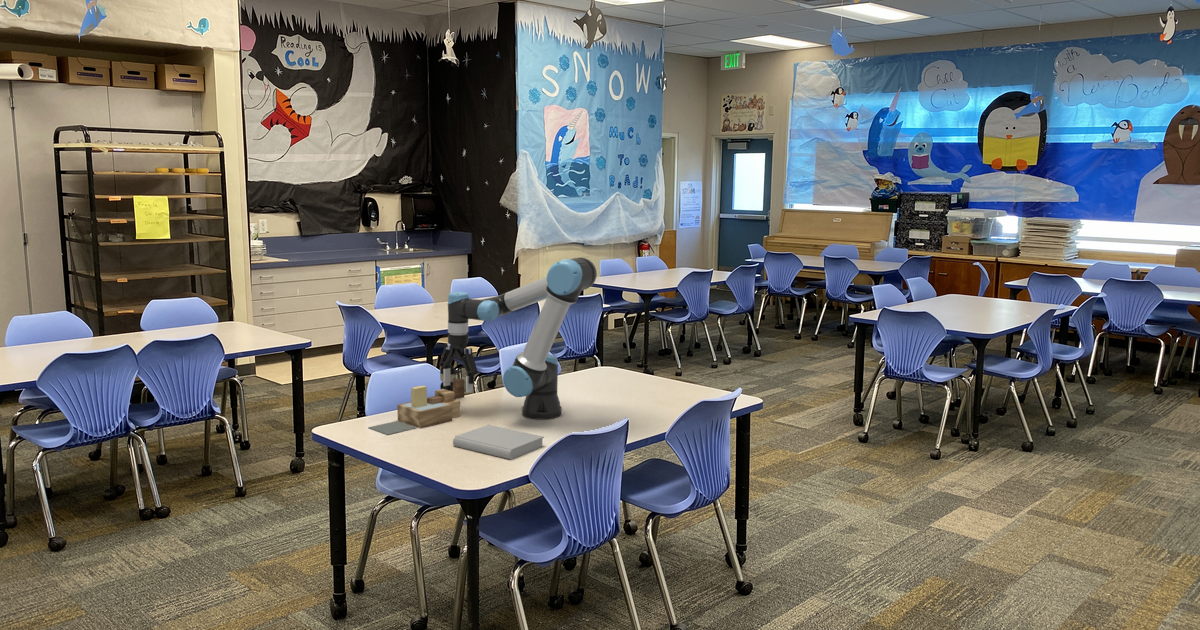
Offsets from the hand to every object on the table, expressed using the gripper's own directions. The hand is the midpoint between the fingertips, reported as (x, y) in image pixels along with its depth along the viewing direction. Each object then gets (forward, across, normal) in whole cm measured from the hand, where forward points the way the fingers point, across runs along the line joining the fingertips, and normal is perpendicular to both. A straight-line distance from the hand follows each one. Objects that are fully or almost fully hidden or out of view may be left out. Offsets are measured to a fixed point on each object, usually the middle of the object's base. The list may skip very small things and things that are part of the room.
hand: (458, 388), depth 324 cm
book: (+10, -42, +16) cm, 46 cm away
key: (+3, 0, +6) cm, 7 cm away
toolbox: (+9, 0, +12) cm, 16 cm away
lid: (+4, 0, +15) cm, 16 cm away
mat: (+10, 0, +29) cm, 31 cm away
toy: (+10, +17, -10) cm, 22 cm away
